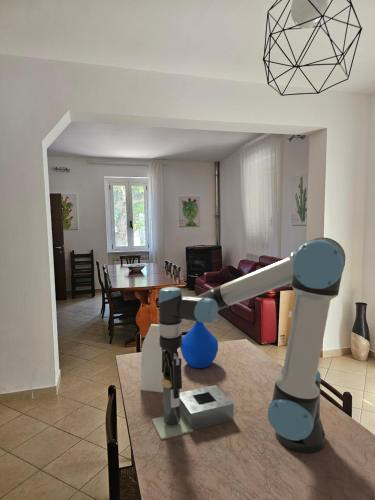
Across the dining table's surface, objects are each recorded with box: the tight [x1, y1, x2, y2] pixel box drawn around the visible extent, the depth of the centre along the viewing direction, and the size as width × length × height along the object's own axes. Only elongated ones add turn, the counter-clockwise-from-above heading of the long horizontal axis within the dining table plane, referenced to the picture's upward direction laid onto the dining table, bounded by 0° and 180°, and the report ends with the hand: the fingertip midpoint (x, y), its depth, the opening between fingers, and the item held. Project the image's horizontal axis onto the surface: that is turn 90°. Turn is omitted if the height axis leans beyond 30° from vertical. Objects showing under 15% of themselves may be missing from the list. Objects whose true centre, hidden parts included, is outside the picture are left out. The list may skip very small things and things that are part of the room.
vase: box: [180, 321, 219, 369], centre depth 159 cm, size 18×18×30 cm
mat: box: [151, 413, 194, 441], centre depth 112 cm, size 11×11×1 cm
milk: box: [140, 323, 173, 393], centre depth 139 cm, size 12×12×26 cm
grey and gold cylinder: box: [162, 376, 181, 425], centre depth 111 cm, size 7×7×14 cm
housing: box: [180, 384, 235, 431], centre depth 118 cm, size 14×16×6 cm
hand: (171, 400), depth 111 cm, fingers closed on grey and gold cylinder, 7 cm apart
